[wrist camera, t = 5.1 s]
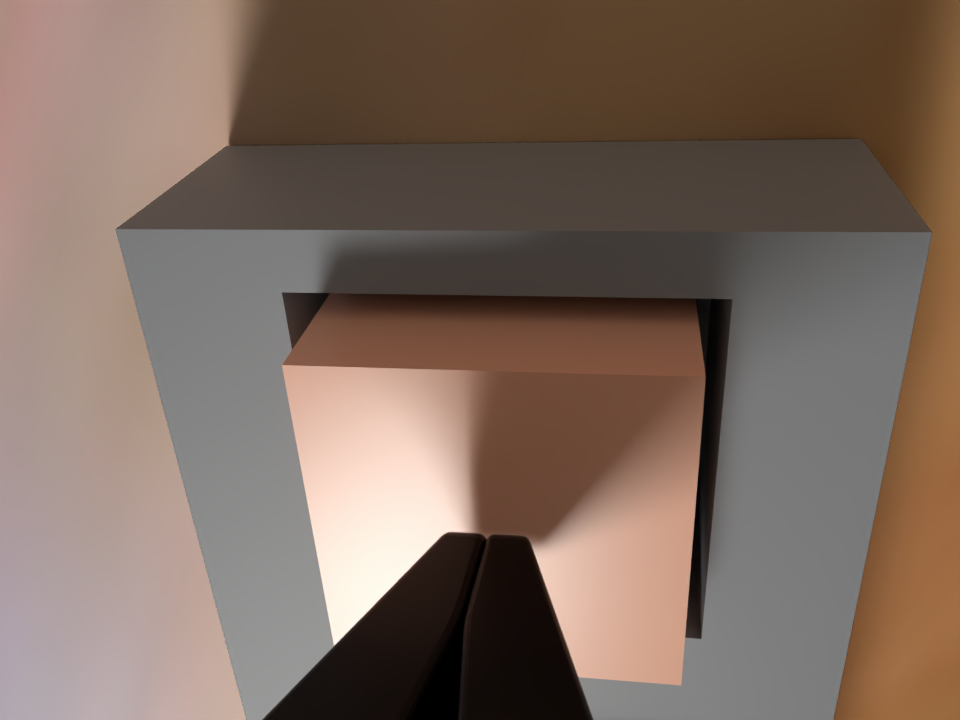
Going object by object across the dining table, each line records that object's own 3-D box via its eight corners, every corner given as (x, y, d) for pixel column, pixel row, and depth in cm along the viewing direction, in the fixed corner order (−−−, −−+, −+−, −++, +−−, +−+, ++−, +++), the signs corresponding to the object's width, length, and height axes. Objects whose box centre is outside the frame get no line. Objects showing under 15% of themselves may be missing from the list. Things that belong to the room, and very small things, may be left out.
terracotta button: (693, 291, 10) (706, 376, 8) (675, 572, 12) (681, 686, 10) (335, 287, 10) (281, 365, 9) (373, 555, 12) (336, 657, 11)
